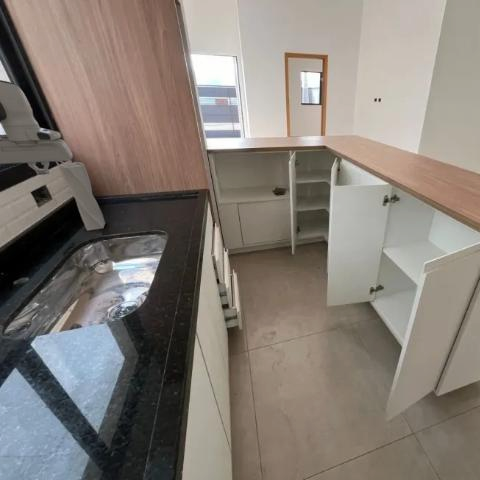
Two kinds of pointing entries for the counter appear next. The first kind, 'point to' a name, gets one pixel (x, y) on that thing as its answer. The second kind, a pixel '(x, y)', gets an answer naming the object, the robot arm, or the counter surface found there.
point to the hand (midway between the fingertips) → (43, 174)
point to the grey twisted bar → (83, 194)
